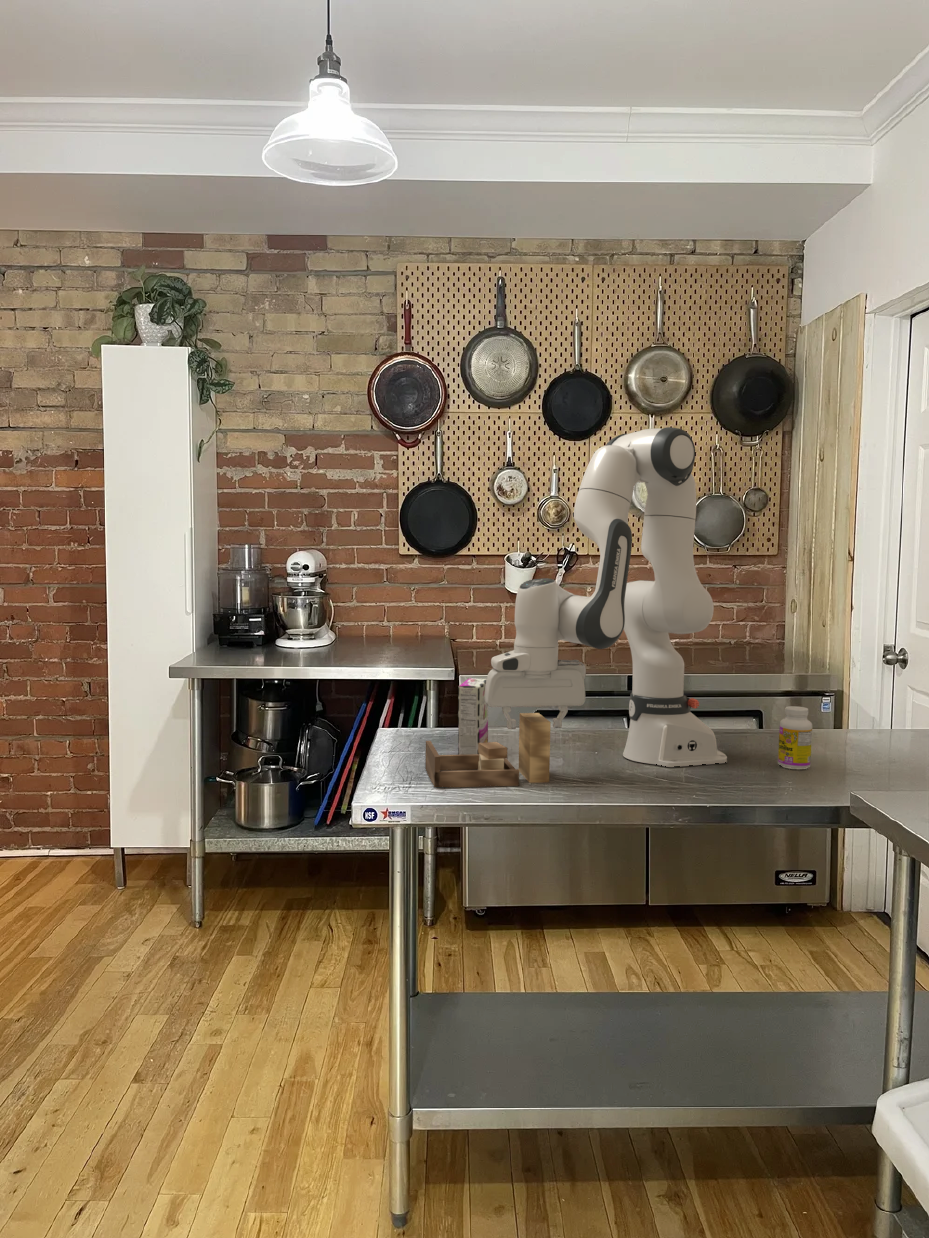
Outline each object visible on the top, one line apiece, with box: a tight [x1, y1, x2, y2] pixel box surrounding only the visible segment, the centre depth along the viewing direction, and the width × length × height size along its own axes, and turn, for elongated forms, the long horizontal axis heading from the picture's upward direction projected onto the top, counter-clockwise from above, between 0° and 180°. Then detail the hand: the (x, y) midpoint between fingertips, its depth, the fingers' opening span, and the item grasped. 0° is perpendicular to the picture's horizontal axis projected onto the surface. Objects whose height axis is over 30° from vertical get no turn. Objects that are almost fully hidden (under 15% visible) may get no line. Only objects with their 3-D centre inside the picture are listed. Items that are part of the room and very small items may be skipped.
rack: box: [424, 740, 520, 788], centre depth 190 cm, size 16×14×6 cm
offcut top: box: [478, 741, 508, 759], centre depth 191 cm, size 4×6×2 cm, turn 19°
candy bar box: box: [457, 677, 489, 755], centre depth 209 cm, size 11×5×16 cm, turn 168°
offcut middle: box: [479, 753, 504, 770], centre depth 191 cm, size 4×8×2 cm, turn 2°
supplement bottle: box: [777, 705, 813, 768], centre depth 203 cm, size 7×7×13 cm
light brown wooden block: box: [517, 712, 552, 784], centre depth 192 cm, size 4×10×12 cm, turn 9°
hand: (534, 728), depth 191 cm, fingers open, 8 cm apart
